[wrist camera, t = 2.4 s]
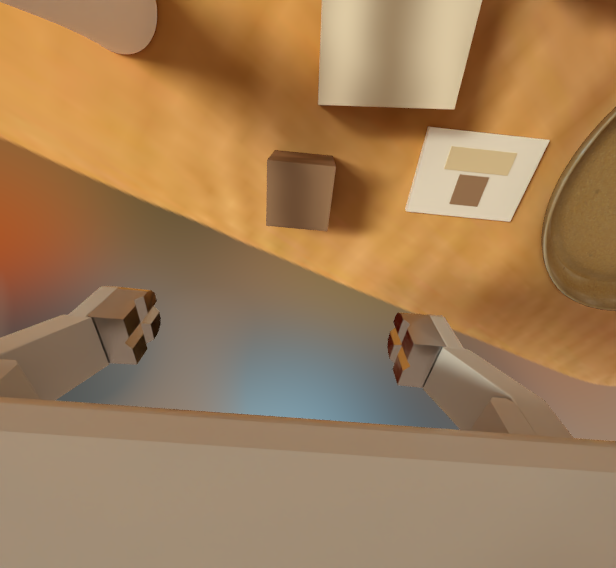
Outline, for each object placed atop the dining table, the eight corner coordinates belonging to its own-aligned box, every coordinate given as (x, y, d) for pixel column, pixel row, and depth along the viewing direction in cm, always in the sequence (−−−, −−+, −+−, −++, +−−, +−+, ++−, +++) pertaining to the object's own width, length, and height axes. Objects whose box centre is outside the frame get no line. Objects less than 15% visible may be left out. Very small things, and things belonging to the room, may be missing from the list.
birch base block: (464, -57, 19) (508, -102, 14) (429, 107, 23) (454, 109, 19) (324, -61, 19) (327, -108, 14) (317, 104, 23) (318, 104, 19)
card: (545, 139, 24) (550, 140, 24) (507, 219, 28) (510, 222, 27) (428, 126, 24) (430, 127, 23) (404, 209, 28) (406, 211, 27)
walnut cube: (332, 155, 25) (336, 166, 21) (325, 211, 28) (327, 231, 24) (275, 150, 25) (267, 160, 21) (273, 206, 28) (266, 225, 24)
